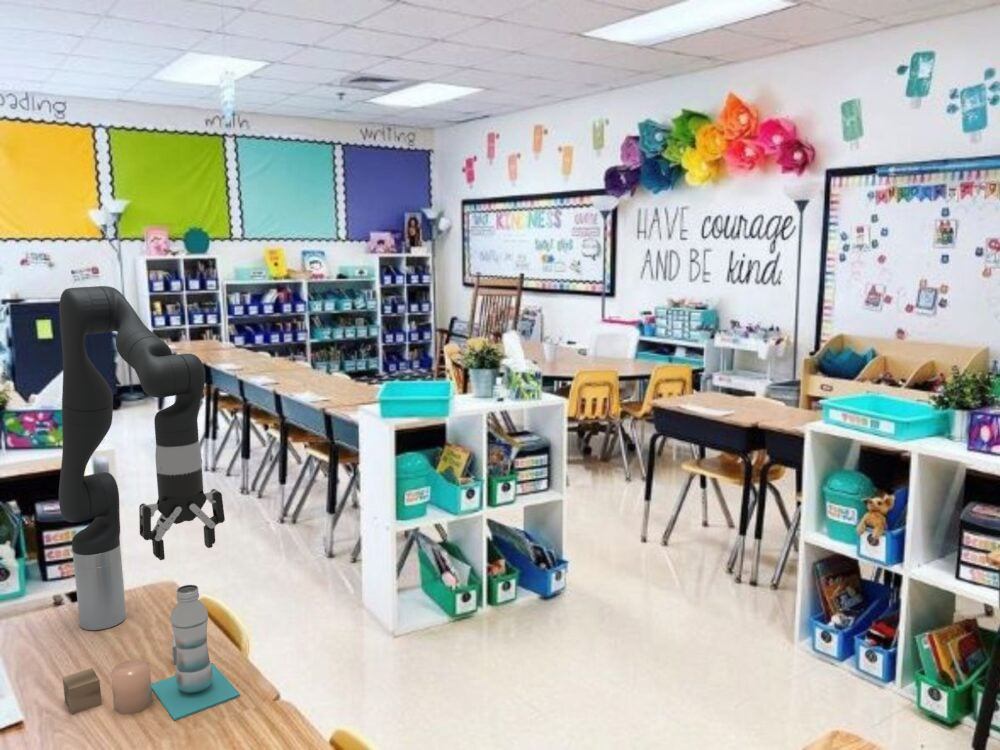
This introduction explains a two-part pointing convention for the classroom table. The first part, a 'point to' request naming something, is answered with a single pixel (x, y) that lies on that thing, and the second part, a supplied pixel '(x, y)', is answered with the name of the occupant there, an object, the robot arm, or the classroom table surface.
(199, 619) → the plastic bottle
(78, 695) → the walnut block
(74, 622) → the classroom table surface
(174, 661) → the slate grey box
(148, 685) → the beige domed cylinder
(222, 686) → the teal mat
